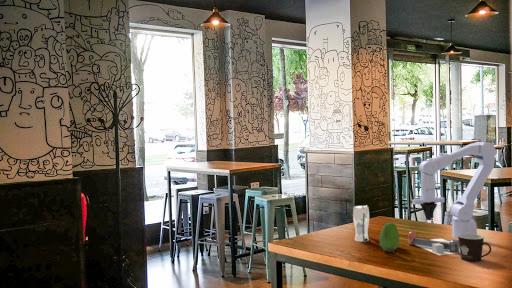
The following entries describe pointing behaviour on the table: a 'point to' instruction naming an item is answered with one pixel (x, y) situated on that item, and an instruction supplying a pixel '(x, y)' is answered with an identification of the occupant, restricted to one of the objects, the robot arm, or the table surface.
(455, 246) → the lever
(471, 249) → the coffee mug
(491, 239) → the table surface
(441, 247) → the white flat block
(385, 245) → the avocado
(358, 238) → the beer glass
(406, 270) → the table surface
